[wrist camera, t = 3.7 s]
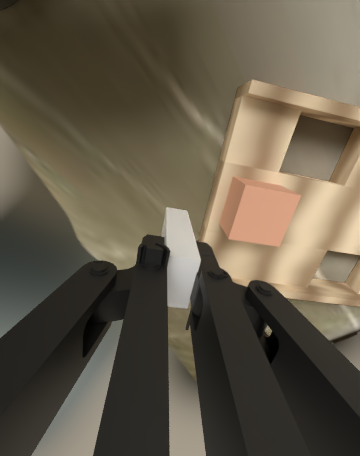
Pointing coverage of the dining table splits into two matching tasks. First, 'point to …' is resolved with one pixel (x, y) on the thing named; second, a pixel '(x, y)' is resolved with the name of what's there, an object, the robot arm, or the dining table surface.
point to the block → (258, 211)
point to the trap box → (305, 186)
